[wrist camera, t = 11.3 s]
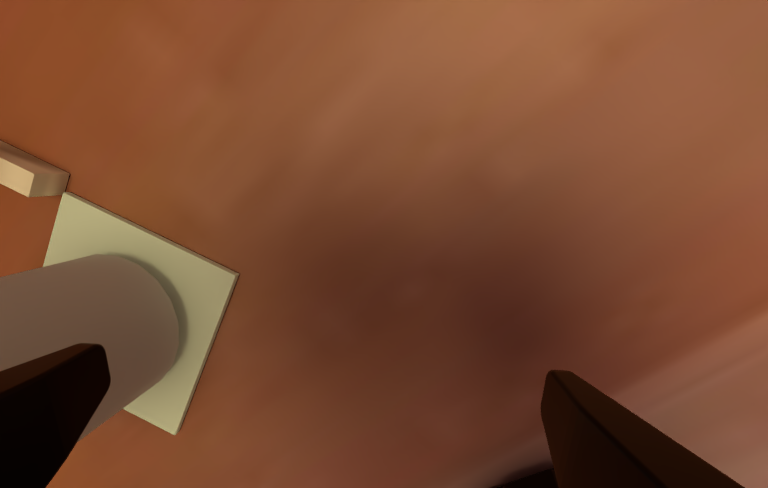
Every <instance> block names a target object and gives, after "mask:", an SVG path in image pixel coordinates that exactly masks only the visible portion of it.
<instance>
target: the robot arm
mask: <svg viewBox="0 0 768 488" xmlns="http://www.w3.org/2000/svg"><path fill="white" fill-rule="evenodd" d="M110 383H111V376H110V371H109V366H108V361H107V355H106V351H105V348H104V347H103V346H102V345H101V344H95V343H78V344H75V345H72V346H70V347H67V348H64V349H61V350H58V351H56V352H53V353H50V354H47V355H44V356H42V357H39V358H36V359H33V360H30V361H28V362H25V363H22V364H19V365H16V366H14V367H11V368H8V369H5V370H2V371H0V488H46V486H47V485H48V484H49V482H50V481H51V480H52V478H53V477H54V476H55V474H56V473H57V472H58V470H59V469H60V467H61V466H62V464H63V463H64V462H65V460H66V459H67V457H68V456H69V454H70V452H71V451H72V449H73V448H74V446H75V444H76V443H77V441H78V440H79V438H80V436H81V435H82V433H83V431H84V430H85V428H86V426H87V425H88V423H89V421H90V420H91V418H92V416H93V415H94V413H95V411H96V410H97V408H98V406H99V405H100V403H101V401H102V400H103V398H104V397H105V395H106V393H107V391H108V389H109V387H110ZM541 417H542V421H543V425H544V429H545V433H546V437H547V441H548V445H549V450H550V454H551V458H552V462H553V466H554V468H553V469H549V470H546V471H543V472H540V473H537V474H534V475H531V476H528V477H525V478H522V479H519V480H517V481H514V482H511V483H508V484H505V485H503V486H500V487H497V488H745V487H743V486H742V485H740V484H739V483H737V482H736V481H734V480H733V479H731V478H730V477H728V476H727V475H725V474H724V473H722V472H721V471H719V470H718V469H716V468H715V467H713V466H712V465H710V464H709V463H707V462H706V461H704V460H703V459H701V458H700V457H698V456H697V455H695V454H694V453H692V452H691V451H689V450H688V449H686V448H685V447H683V446H682V445H680V444H679V443H677V442H676V441H674V440H673V439H671V438H670V437H668V436H667V435H665V434H664V433H662V432H661V431H659V430H658V429H656V428H655V427H653V426H652V425H650V424H649V423H647V422H646V421H644V420H643V419H641V418H640V417H638V416H637V415H635V414H634V413H632V412H631V411H629V410H628V409H626V408H625V407H623V406H622V405H620V404H619V403H617V402H616V401H614V400H613V399H611V398H610V397H608V396H607V395H605V394H604V393H602V392H601V391H599V390H598V389H596V388H595V387H593V386H592V385H590V384H589V383H587V382H586V381H584V380H583V379H581V378H580V377H578V376H577V375H575V374H574V373H572V372H570V371H561V370H551V371H549V372H548V374H547V376H546V380H545V386H544V391H543V396H542V401H541Z"/></svg>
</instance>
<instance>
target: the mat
mask: <svg viewBox="0 0 768 488" xmlns="http://www.w3.org/2000/svg"><path fill="white" fill-rule="evenodd" d="M94 254H102V255H114V256H119V257H122V258H124V259H126V260H129V261H131V262H133V263H136V264H138V265H140V266H141V267H142V268H143V269H144V270H146V271H147V272H148V273H149V274H150V275H152V276H153V277H154V278H155V279H156V280H157V281H158V282H159V283H160V285H161V286H162V288H163V289H164V291H165V292H166V294H167V295H168V297H169V298H170V299H171V302H172V305H173V308H174V311H175V314H176V317H177V320H178V327H179V346H178V350H177V353H176V356H175V360H174V363H173V365H172V366H171V368H170V369H169V370H168V372H167V373H166V374H165V376H164V377H163V378H162V380H161V381H159V382H158V383H157V384H155V385H154V386H153V387H151V388H150V389H149V390H147V391H146V392H144V393H143V394H142V395H140V396H139V397H138V398H136V399H135V400H134V401H132V402H131V403H130V404H128V405H127V406H126V407H124V408H123V409H124V410H126V411H128V412H130V413H132V414H134V415H136V416H138V417H140V418H142V419H144V420H146V421H148V422H150V423H152V424H154V425H156V426H158V427H160V428H161V429H163V430H165V431H167V432H169V433H171V434H173V435H176V434H177V433H178V432H179V431H180V428H181V425H182V423H183V420H184V418H185V415H186V412H187V410H188V407H189V405H190V402H191V399H192V397H193V394H194V391H195V389H196V386H197V384H198V381H199V378H200V376H201V373H202V370H203V368H204V365H205V363H206V360H207V357H208V355H209V352H210V350H211V347H212V344H213V342H214V339H215V336H216V334H217V331H218V329H219V326H220V323H221V321H222V318H223V315H224V313H225V310H226V308H227V305H228V302H229V300H230V297H231V295H232V292H233V289H234V287H235V284H236V281H237V279H238V276H239V273H237V272H234V271H232V270H230V269H228V268H226V267H224V266H222V265H220V264H218V263H216V262H214V261H212V260H210V259H208V258H205V257H203V256H201V255H199V254H197V253H195V252H193V251H191V250H189V249H187V248H185V247H183V246H181V245H179V244H176V243H174V242H172V241H170V240H168V239H166V238H164V237H162V236H160V235H158V234H156V233H154V232H152V231H150V230H147V229H145V228H143V227H141V226H139V225H137V224H135V223H133V222H131V221H129V220H127V219H125V218H123V217H121V216H118V215H116V214H114V213H112V212H110V211H108V210H106V209H104V208H102V207H100V206H98V205H96V204H94V203H92V202H89V201H87V200H85V199H83V198H81V197H79V196H77V195H75V194H73V193H71V192H63V195H62V199H61V202H60V206H59V210H58V213H57V217H56V221H55V224H54V228H53V232H52V235H51V239H50V243H49V246H48V250H47V254H46V257H45V261H44V265H43V267H45V266H49V265H53V264H57V263H61V262H66V261H70V260H74V259H78V258H82V257H86V256H90V255H94Z"/></svg>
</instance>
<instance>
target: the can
mask: <svg viewBox="0 0 768 488" xmlns="http://www.w3.org/2000/svg"><path fill="white" fill-rule="evenodd" d="M78 343H95V344H101V345H102V346H103V347H104V348H105V351H106V355H107V361H108V366H109V371H110V376H111V383H110V387H109V389H108V391H107V393H106V395H105V397H104V398H103V400H102V401H101V403H100V405H99V406H98V408H97V410H96V411H95V413H94V415H93V416H92V418H91V420H90V421H89V423H88V425H87V426H86V428H85V430H84V431H83V433H82V435H81V436H80V438H79V440H78V441H80V440H81V439H82V438H84V437H85V436H86V435H88V434H89V433H90V432H92V431H93V430H94V429H96V428H97V427H98V426H100V425H101V424H103V423H104V422H105V421H107V420H108V419H109V418H111V417H112V416H113V415H115V414H116V413H117V412H119V411H120V410H121V409H123V408H124V407H126V406H127V405H128V404H130V403H131V402H132V401H134V400H135V399H136V398H138V397H139V396H140V395H142V394H143V393H144V392H146V391H147V390H149V389H150V388H151V387H153V386H154V385H155V384H157V383H158V382H159V381H161V380H162V378H163V377H164V376H165V374H166V373H167V372H168V370H169V369H170V368H171V366H172V365H173V363H174V360H175V356H176V353H177V350H178V346H179V327H178V320H177V317H176V314H175V311H174V308H173V305H172V302H171V299H170V298H169V297H168V295H167V294H166V292H165V291H164V289H163V288H162V286H161V285H160V283H159V282H158V281H157V280H156V279H155V278H154V277H153V276H152V275H150V274H149V273H148V272H147V271H146V270H144V269H143V268H142V267H141V266H140V265H138V264H136V263H133V262H131V261H129V260H126V259H124V258H122V257H119V256H114V255H102V254H94V255H90V256H86V257H82V258H78V259H74V260H70V261H66V262H61V263H57V264H53V265H49V266H45V267H41V268H37V269H33V270H29V271H24V272H20V273H16V274H12V275H8V276H4V277H0V371H2V370H5V369H8V368H11V367H14V366H16V365H19V364H22V363H25V362H28V361H30V360H33V359H36V358H39V357H42V356H44V355H47V354H50V353H53V352H56V351H58V350H61V349H64V348H67V347H70V346H72V345H75V344H78ZM78 441H77V442H78Z"/></svg>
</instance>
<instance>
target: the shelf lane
mask: <svg viewBox="0 0 768 488" xmlns="http://www.w3.org/2000/svg"><path fill="white" fill-rule="evenodd" d="M69 175H70V173H68V172H65V171H63V170H61V169H59V168H57V167H55V166H53V165H51V164H49V163H47V162H45V161H43V160H40V159H38V158H36V157H34V156H32V155H30V154H28V153H26V152H24V151H22V150H20V149H18V148H15V147H13V146H11V145H9V144H7V143H5V142H3V141H1V140H0V184H2V185H4V186H7V187H9V188H11V189H13V190H15V191H17V192H19V193H21V194H23V195H25V196H27V197H38V196H53V195H63V192H65V189H66V186H67V182H68V179H69Z"/></svg>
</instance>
